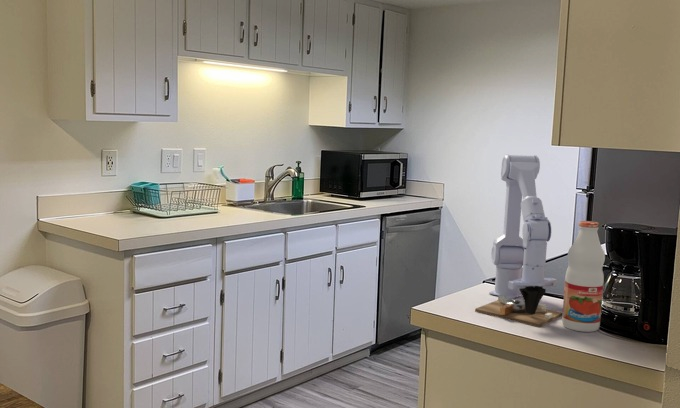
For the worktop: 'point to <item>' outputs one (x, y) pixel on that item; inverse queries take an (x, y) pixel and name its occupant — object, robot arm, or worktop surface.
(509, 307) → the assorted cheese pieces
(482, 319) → the worktop surface
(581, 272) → the fruit juice
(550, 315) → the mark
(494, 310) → the board
